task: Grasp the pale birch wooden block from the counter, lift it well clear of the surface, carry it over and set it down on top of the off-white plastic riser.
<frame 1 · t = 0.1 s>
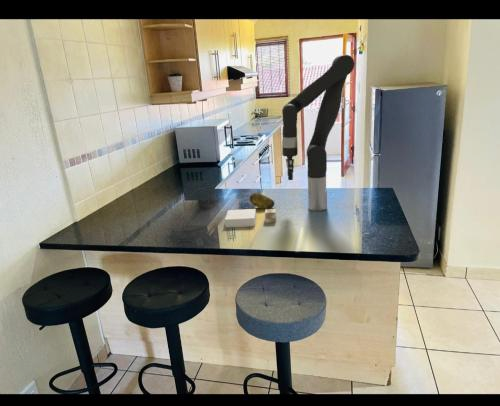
hand: (290, 177, 190), 17 cm above the countertop, tool pointing down, fingers open, 8 cm apart
riser: (241, 221, 185), on the countertop
potato: (262, 208, 202), on the countertop
birch block: (270, 220, 184), on the countertop
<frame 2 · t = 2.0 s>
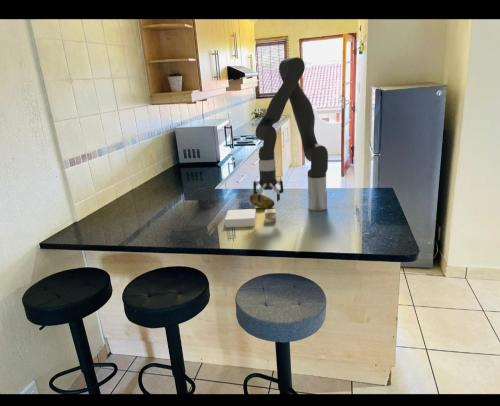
hand: (268, 201, 181), 10 cm above the countertop, tool pointing down, fingers open, 8 cm apart
nothing on the countertop moved.
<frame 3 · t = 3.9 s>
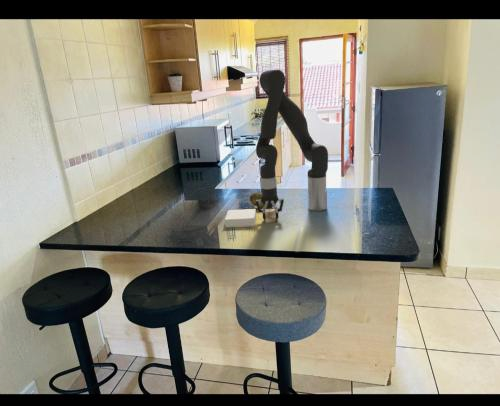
hand: (270, 219, 184), 0 cm above the countertop, tool pointing down, fingers closed on birch block, 5 cm apart
birch block: (270, 220, 184), on the countertop, touching gripper
everything else where it was.
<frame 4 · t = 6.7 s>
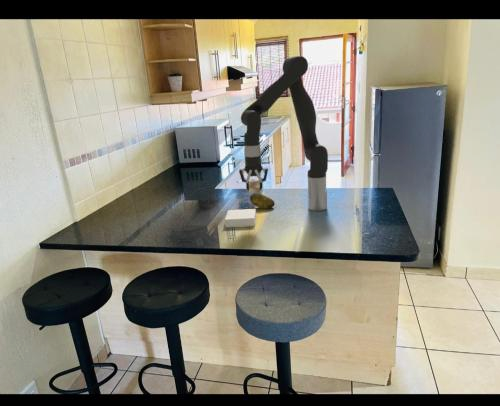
hand: (254, 189, 179), 16 cm above the countertop, tool pointing down, fingers closed on birch block, 5 cm apart
birch block: (254, 190, 179), point 16 cm above the countertop, touching gripper
everything else where it was.
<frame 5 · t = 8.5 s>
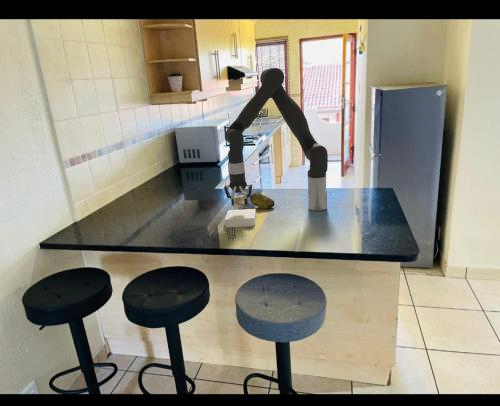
hand: (239, 205, 182), 8 cm above the countertop, tool pointing down, fingers closed on birch block, 5 cm apart
birch block: (239, 206, 183), point 8 cm above the countertop, touching gripper
everything else where it was.
when the fingers open (6 cm above the countertop, at t = 9.9 s): birch block drops 1 cm, resting on riser.
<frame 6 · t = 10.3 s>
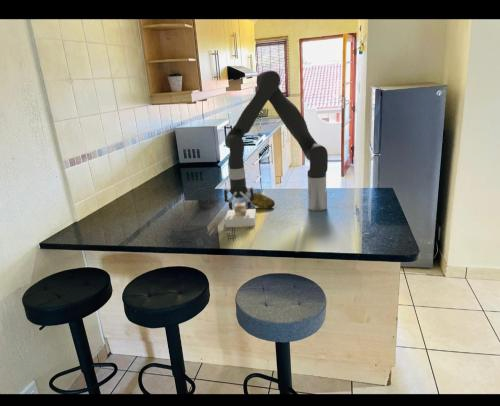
hand: (240, 209, 183), 7 cm above the countertop, tool pointing down, fingers open, 8 cm apart
birch block: (240, 214, 184), point 4 cm above the countertop, touching riser
everything else where it was.
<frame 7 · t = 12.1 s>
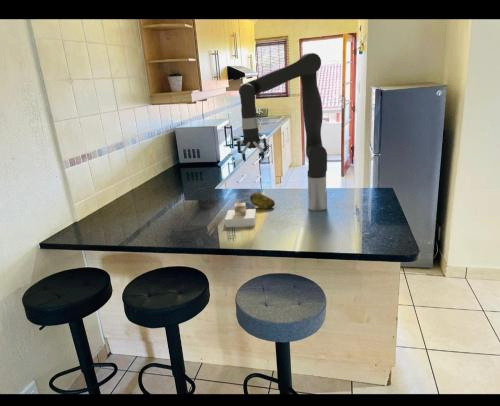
hand: (253, 160, 184), 28 cm above the countertop, tool pointing down, fingers open, 8 cm apart
nothing on the countertop moved.
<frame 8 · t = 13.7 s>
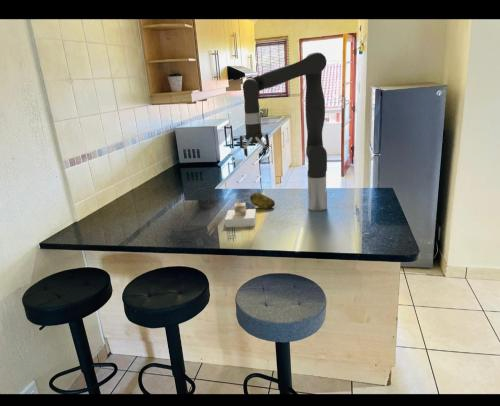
hand: (255, 155, 185), 30 cm above the countertop, tool pointing down, fingers open, 8 cm apart
nothing on the countertop moved.
at the end: birch block inside the target area on the riser (0.0 cm from its centre), point 4.0 cm above the riser's base; birch block tilted 0°; the gripper is holding nothing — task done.
